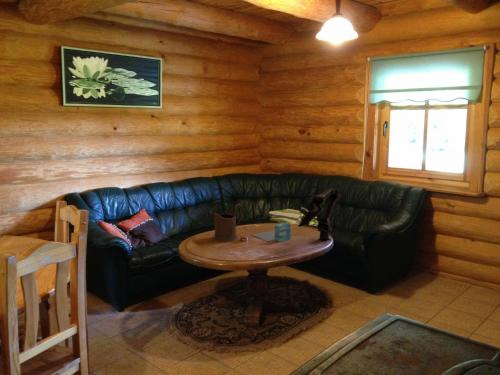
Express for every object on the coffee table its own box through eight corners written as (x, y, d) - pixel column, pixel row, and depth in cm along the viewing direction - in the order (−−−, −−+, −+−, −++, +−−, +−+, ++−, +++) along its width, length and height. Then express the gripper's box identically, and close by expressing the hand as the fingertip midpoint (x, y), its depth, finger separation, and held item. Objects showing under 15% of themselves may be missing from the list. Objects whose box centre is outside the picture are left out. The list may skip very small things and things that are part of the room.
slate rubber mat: (274, 230, 348) (274, 230, 347) (290, 236, 331) (290, 235, 331) (251, 235, 335) (251, 234, 335) (267, 241, 319) (267, 241, 319)
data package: (278, 242, 317) (278, 226, 315) (274, 241, 320) (274, 225, 318) (290, 239, 324) (290, 223, 322) (286, 237, 328) (286, 222, 326)
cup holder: (209, 237, 331) (208, 204, 327) (237, 232, 342) (237, 201, 338) (219, 243, 315) (218, 209, 311) (248, 238, 326) (248, 206, 322)
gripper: (308, 201, 319) (293, 215, 324) (304, 206, 302) (288, 221, 307) (318, 212, 319) (303, 226, 324) (315, 218, 301) (299, 233, 306)
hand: (298, 226), depth 315 cm, fingers closed
